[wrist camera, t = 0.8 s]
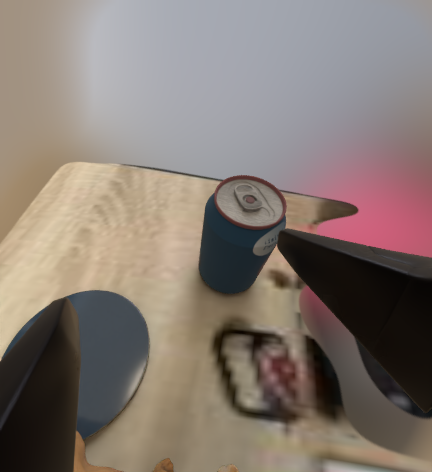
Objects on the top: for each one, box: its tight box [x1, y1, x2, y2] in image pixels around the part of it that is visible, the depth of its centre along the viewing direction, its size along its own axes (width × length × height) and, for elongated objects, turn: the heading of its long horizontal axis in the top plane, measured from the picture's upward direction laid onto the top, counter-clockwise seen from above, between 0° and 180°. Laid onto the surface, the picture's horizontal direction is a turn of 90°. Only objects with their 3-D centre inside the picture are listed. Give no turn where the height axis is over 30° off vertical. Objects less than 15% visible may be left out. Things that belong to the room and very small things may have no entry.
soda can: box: [199, 175, 287, 294], centre depth 22 cm, size 7×7×12 cm
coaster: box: [2, 290, 150, 440], centre depth 20 cm, size 12×12×1 cm
